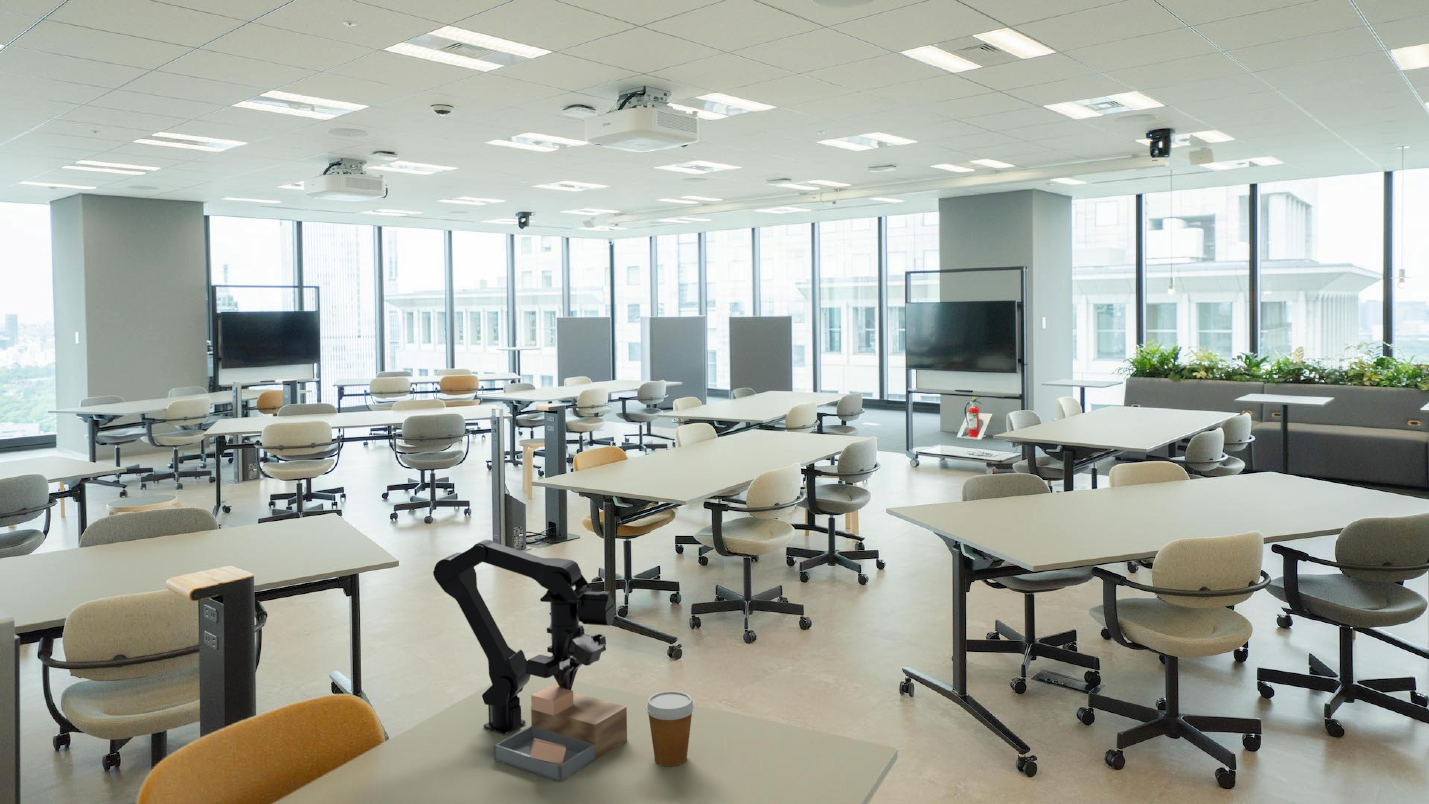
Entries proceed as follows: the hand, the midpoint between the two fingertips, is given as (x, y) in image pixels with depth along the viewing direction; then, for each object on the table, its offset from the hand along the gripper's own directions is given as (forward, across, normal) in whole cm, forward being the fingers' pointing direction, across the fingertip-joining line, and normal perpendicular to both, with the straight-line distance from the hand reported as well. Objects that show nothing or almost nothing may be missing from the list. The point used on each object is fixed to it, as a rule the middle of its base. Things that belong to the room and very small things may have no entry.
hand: (566, 694), depth 190 cm
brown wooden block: (+8, -2, -4) cm, 9 cm away
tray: (+8, -12, -4) cm, 15 cm away
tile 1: (+1, -4, 0) cm, 4 cm away
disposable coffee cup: (+8, +1, -26) cm, 27 cm away
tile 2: (+3, -14, -8) cm, 16 cm away
